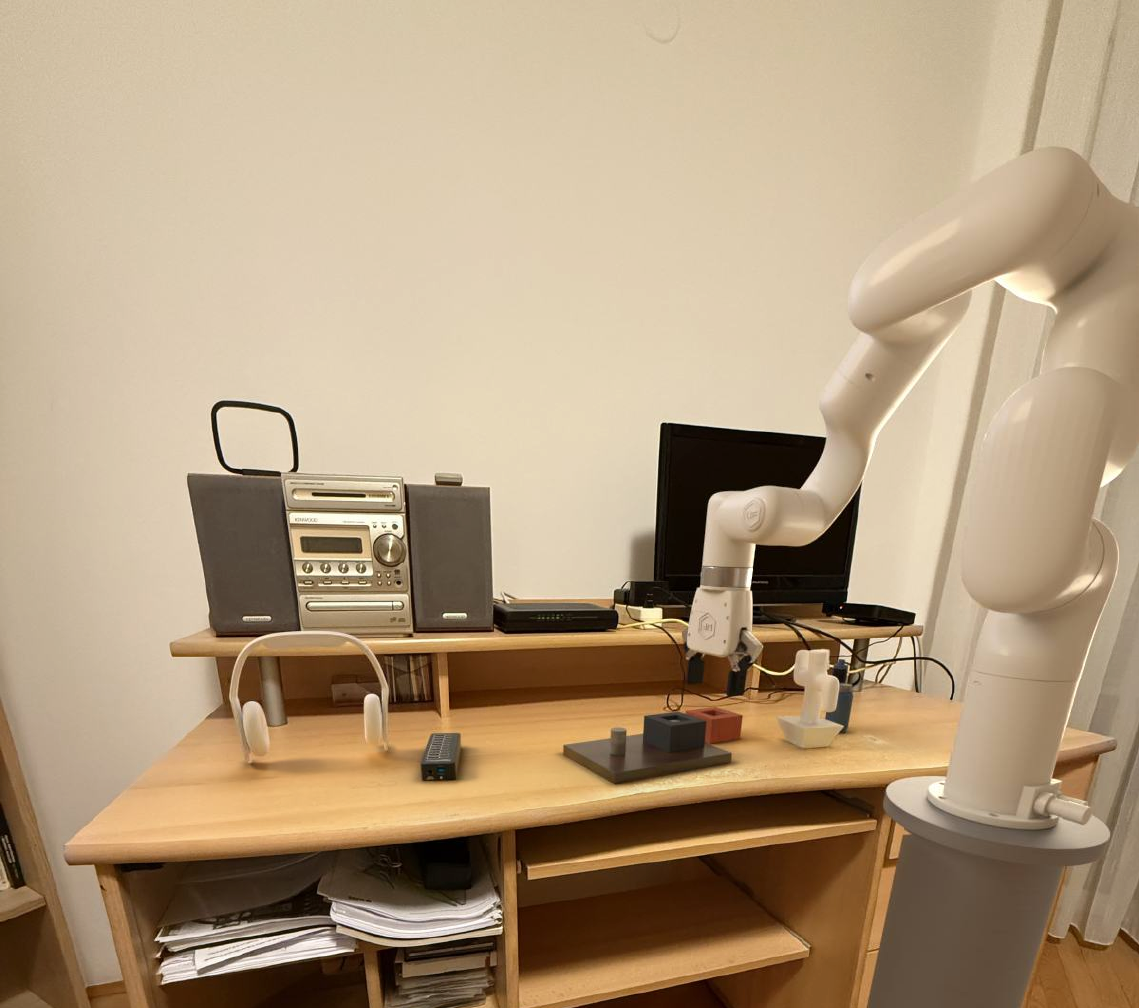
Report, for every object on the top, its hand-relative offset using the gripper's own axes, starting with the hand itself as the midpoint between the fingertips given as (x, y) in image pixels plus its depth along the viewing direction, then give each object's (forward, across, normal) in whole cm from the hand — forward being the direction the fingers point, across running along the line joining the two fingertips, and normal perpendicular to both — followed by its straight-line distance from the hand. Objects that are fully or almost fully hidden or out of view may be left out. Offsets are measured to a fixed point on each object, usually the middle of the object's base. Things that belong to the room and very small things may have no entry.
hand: (713, 689), depth 98 cm
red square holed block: (+8, +1, 0) cm, 8 cm away
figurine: (+8, +11, +11) cm, 17 cm away
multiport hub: (+8, -5, -44) cm, 45 cm away
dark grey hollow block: (+6, +6, -12) cm, 15 cm away
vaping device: (+8, +7, +23) cm, 25 cm away
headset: (+8, -14, -59) cm, 61 cm away
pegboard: (+8, +6, -17) cm, 19 cm away
